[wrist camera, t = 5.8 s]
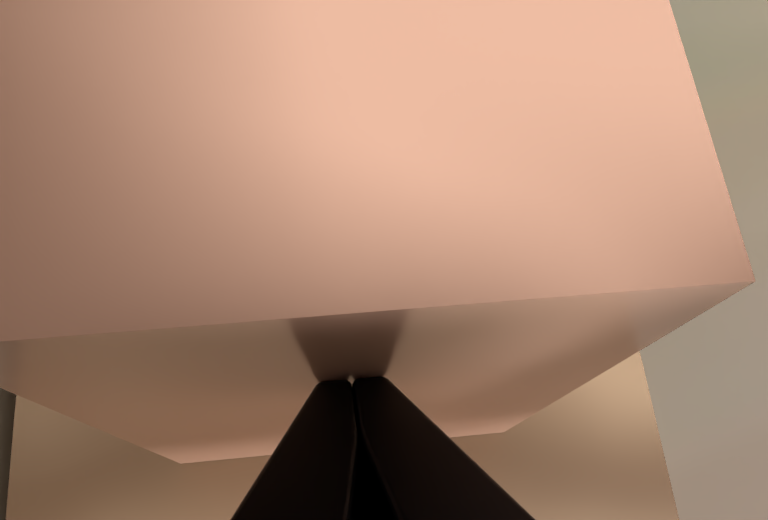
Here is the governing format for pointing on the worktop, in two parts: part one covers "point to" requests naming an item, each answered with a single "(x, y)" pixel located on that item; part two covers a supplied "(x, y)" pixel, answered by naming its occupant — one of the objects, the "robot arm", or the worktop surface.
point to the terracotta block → (344, 207)
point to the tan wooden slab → (236, 476)
